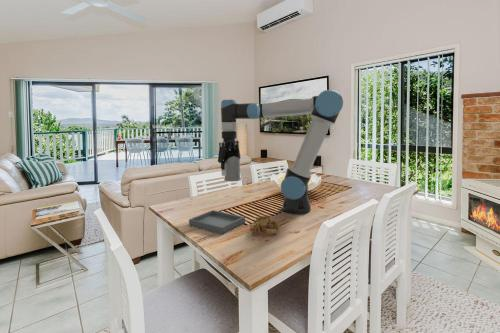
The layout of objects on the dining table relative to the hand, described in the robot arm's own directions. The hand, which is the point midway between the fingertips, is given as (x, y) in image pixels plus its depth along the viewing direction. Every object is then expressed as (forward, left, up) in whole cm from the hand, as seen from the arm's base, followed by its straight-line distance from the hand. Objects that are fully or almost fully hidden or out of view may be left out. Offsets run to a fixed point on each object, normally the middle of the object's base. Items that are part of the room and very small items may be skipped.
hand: (229, 174), depth 155 cm
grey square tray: (-6, +18, -21) cm, 28 cm away
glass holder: (0, -1, -3) cm, 3 cm away
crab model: (-29, +13, -21) cm, 38 cm away
